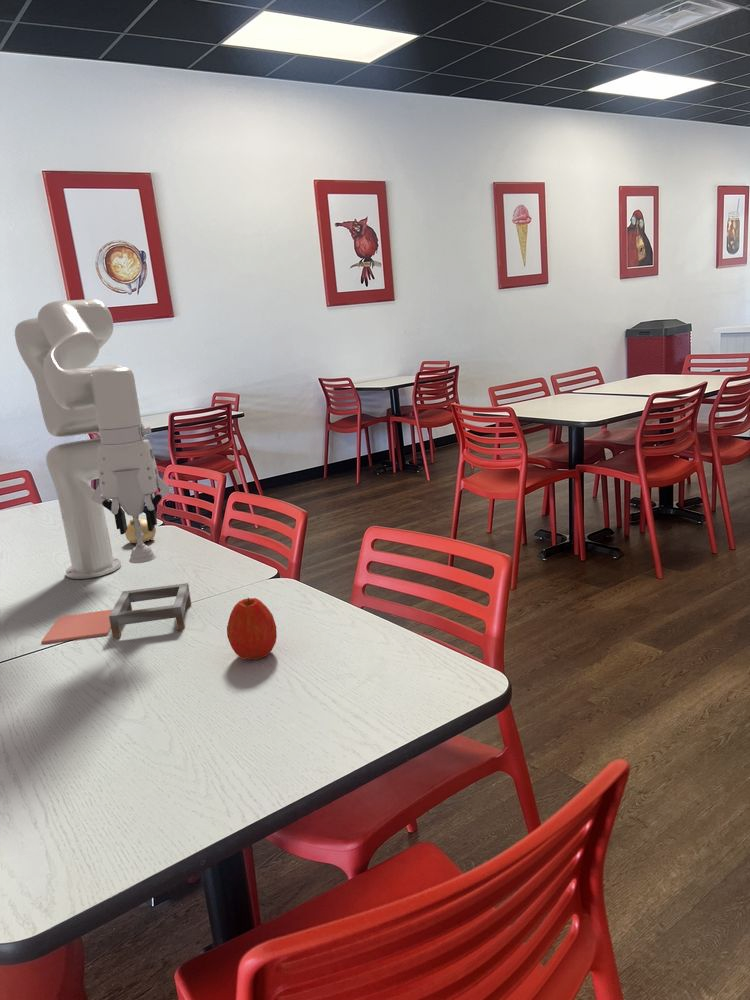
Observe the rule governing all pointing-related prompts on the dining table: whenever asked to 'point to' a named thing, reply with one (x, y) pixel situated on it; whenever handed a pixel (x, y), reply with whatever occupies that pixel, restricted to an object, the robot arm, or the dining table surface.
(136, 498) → the chalice
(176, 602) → the ring stand
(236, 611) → the apple
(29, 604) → the dining table surface
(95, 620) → the coaster
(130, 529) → the onion
